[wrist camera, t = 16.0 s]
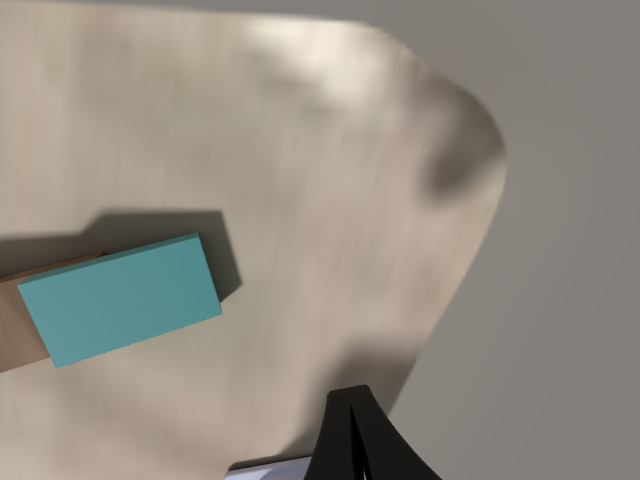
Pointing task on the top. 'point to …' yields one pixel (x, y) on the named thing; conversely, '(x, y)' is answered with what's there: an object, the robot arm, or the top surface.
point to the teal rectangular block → (121, 298)
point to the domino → (23, 319)
